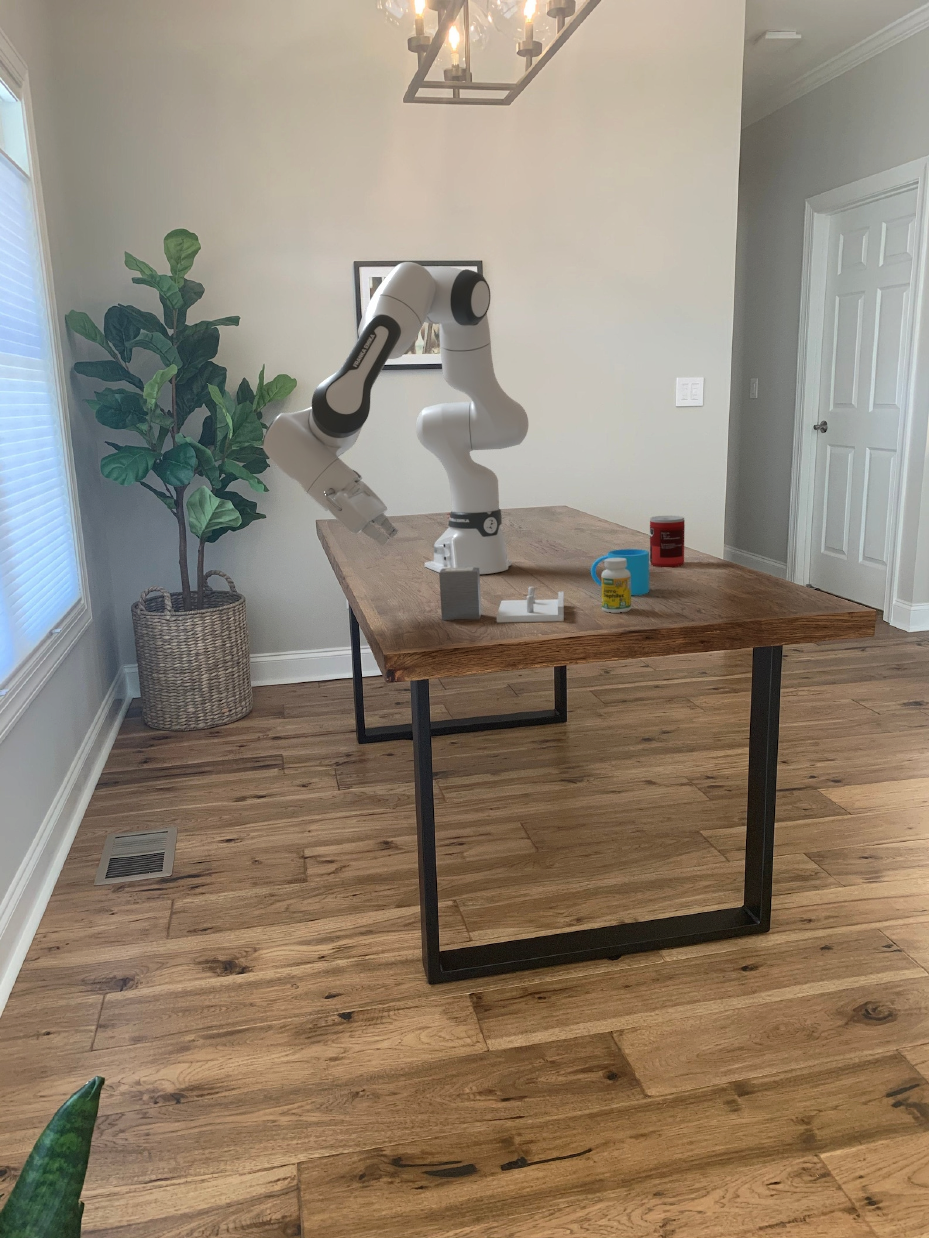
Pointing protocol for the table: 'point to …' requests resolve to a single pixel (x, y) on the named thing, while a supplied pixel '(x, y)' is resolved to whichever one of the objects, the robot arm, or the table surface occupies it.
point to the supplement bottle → (616, 586)
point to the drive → (460, 593)
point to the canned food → (667, 541)
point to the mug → (630, 568)
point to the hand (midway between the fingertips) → (391, 538)
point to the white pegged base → (532, 609)
